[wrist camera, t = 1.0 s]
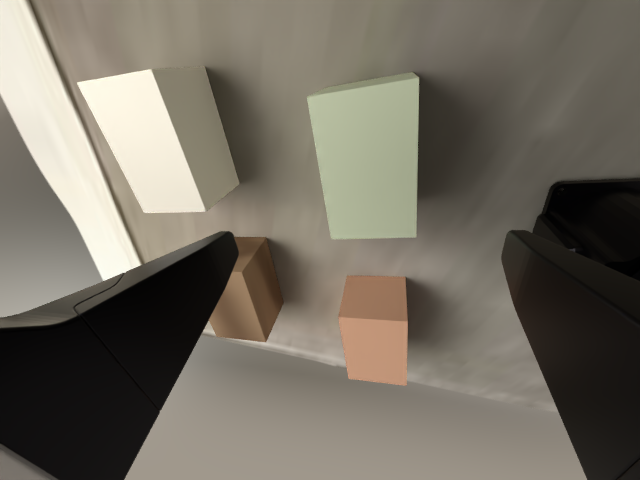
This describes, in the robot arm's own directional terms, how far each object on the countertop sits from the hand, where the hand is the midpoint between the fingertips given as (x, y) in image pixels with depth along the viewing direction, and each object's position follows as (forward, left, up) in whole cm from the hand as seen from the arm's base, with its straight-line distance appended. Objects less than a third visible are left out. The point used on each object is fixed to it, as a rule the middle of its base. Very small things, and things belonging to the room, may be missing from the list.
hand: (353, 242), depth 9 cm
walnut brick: (+12, +11, -11) cm, 20 cm away
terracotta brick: (0, +15, -11) cm, 19 cm away
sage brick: (0, 0, -11) cm, 11 cm away
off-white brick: (+13, -2, -11) cm, 18 cm away
